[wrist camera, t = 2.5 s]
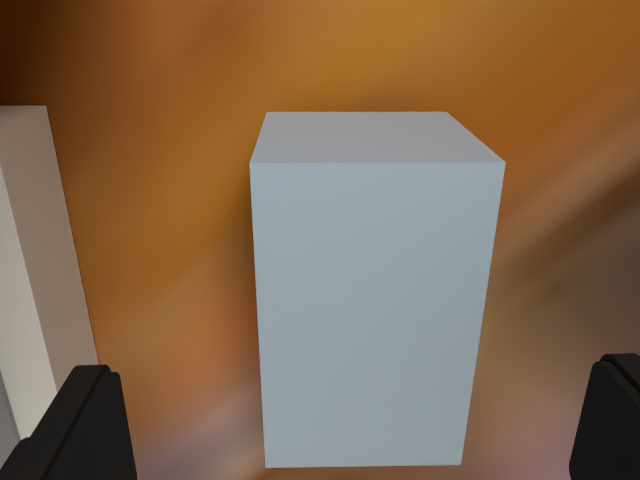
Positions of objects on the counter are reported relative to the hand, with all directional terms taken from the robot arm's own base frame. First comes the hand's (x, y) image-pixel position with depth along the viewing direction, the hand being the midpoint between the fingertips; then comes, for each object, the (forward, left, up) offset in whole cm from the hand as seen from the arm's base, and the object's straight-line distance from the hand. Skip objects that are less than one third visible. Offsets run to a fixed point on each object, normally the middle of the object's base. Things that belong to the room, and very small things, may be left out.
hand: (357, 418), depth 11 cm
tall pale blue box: (-1, 0, -8) cm, 8 cm away
